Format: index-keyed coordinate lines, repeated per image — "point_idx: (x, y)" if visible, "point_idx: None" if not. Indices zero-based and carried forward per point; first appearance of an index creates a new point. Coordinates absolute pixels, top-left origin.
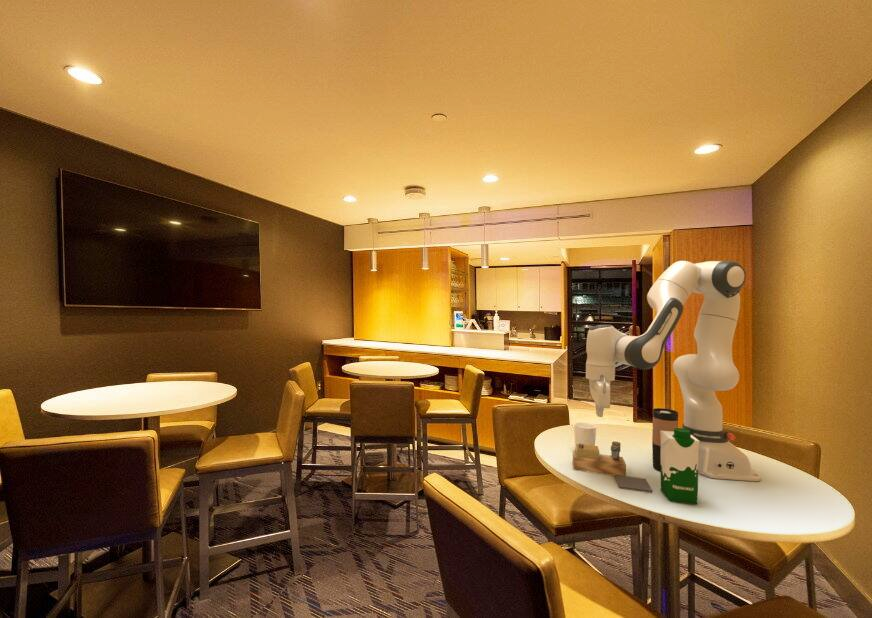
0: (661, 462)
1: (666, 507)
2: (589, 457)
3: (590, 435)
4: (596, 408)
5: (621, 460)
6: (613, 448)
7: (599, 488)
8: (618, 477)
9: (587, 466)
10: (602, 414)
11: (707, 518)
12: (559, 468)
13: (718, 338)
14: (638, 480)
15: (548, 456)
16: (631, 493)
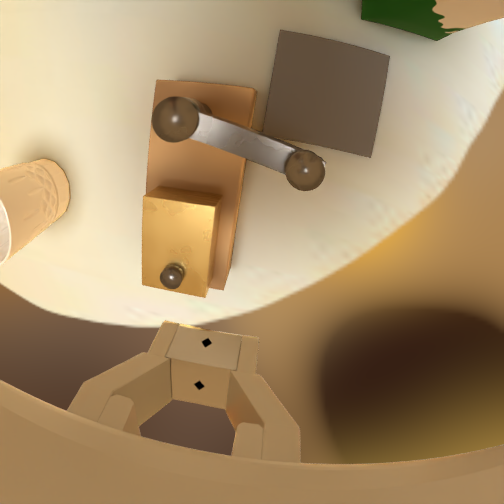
0: (446, 11)
1: (470, 74)
2: (216, 234)
3: (24, 198)
4: (163, 403)
5: (205, 94)
6: (320, 180)
7: (375, 224)
8: (290, 130)
9: (233, 232)
10: (257, 354)
11: None
12: (228, 307)
13: None
14: (305, 63)
15: (134, 315)
16: (401, 131)
